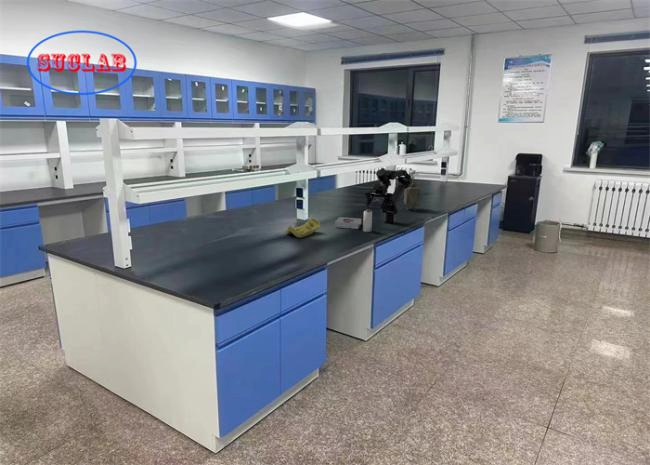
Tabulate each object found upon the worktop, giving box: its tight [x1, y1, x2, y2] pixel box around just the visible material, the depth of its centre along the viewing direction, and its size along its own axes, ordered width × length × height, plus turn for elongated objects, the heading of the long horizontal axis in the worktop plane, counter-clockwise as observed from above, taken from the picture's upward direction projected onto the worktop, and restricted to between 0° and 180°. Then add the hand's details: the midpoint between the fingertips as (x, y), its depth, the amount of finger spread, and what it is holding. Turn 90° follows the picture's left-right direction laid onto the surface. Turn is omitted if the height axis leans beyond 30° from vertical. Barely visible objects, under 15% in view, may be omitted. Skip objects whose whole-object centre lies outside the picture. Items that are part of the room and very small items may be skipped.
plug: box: [362, 209, 373, 233], centre depth 252 cm, size 5×5×12 cm
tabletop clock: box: [403, 176, 421, 212], centre depth 316 cm, size 14×9×25 cm, turn 179°
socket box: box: [334, 216, 362, 230], centre depth 264 cm, size 14×14×4 cm
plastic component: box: [285, 217, 321, 239], centre depth 243 cm, size 20×7×10 cm
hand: (374, 207), depth 256 cm, fingers open, 9 cm apart
